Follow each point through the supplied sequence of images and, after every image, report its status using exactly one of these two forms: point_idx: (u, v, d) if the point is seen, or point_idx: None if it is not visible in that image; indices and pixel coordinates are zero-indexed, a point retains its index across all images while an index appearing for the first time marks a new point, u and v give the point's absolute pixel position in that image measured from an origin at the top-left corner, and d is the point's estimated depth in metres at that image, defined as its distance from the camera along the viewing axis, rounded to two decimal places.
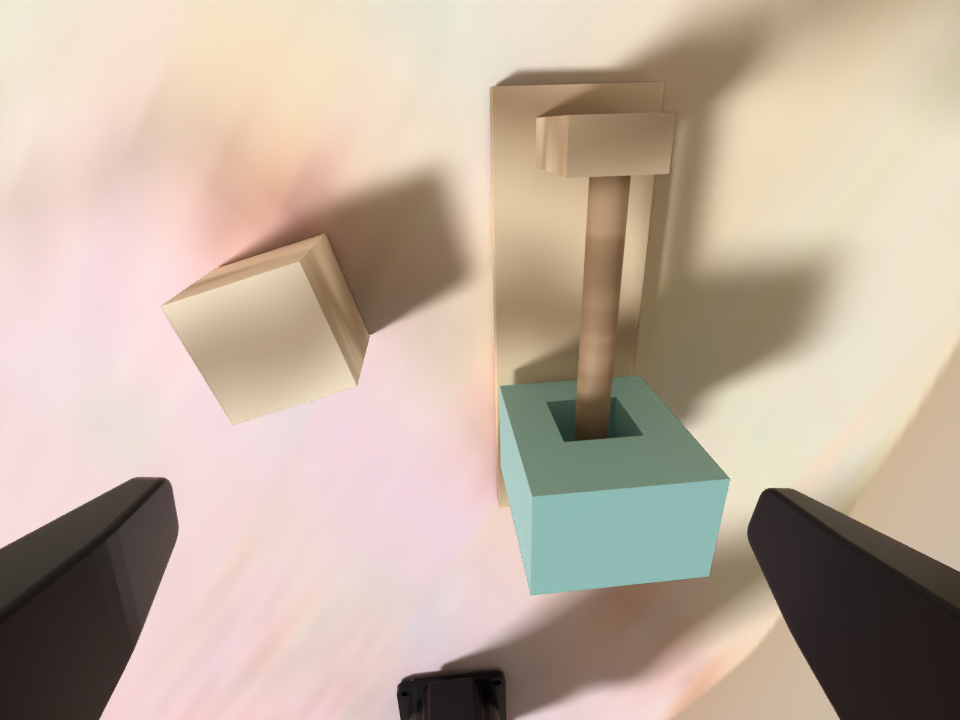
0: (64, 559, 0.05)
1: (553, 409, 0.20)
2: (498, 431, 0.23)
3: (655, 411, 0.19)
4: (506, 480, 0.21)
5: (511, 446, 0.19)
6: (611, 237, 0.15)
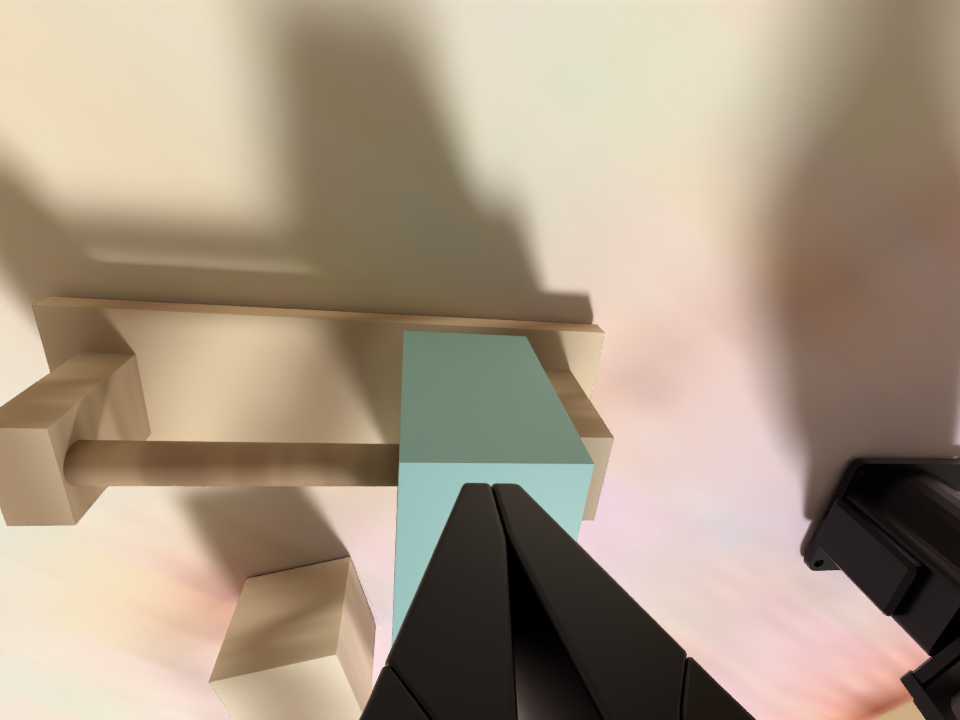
0: (498, 558, 0.06)
1: None
2: None
3: None
4: None
5: None
6: (140, 476, 0.13)
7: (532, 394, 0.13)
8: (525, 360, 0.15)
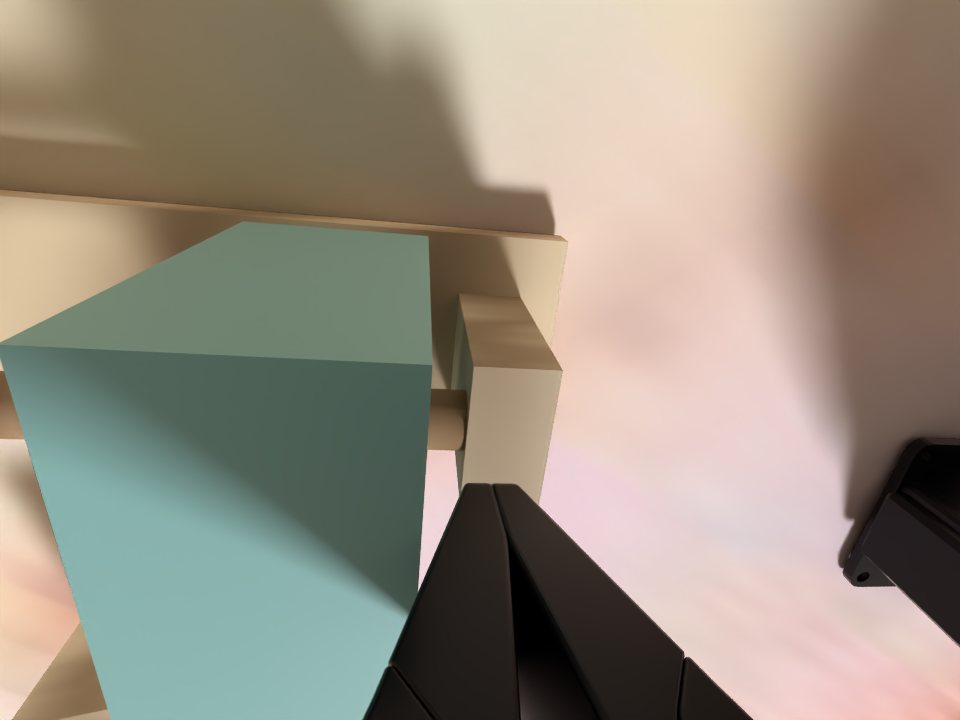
0: (500, 558, 0.06)
1: None
2: None
3: None
4: None
5: None
6: None
7: (387, 282, 0.08)
8: (407, 253, 0.10)
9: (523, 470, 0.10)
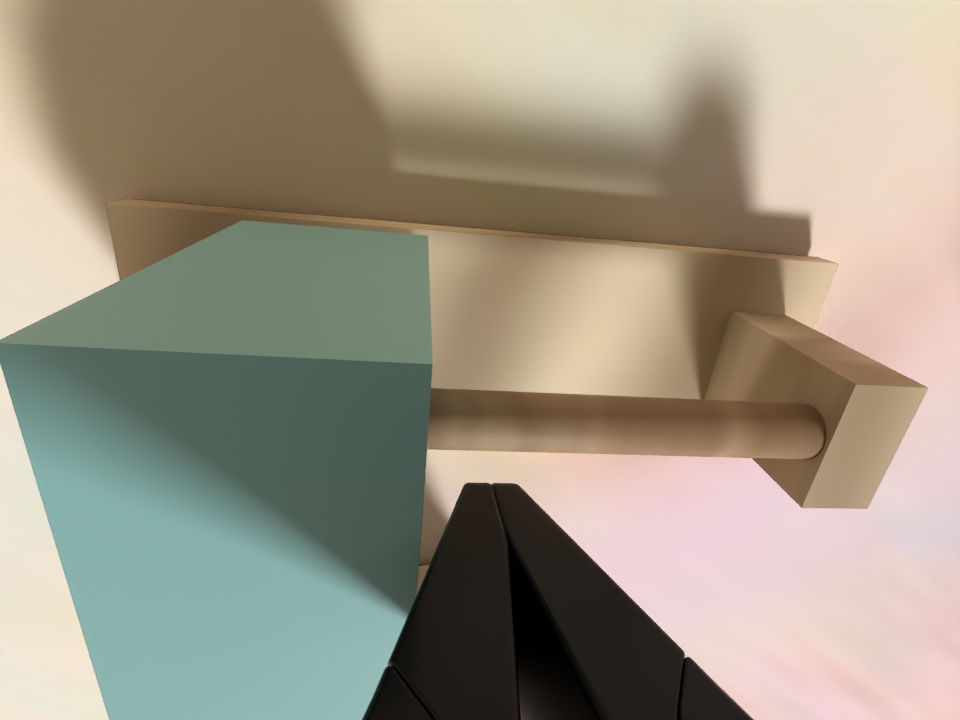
0: (500, 558, 0.06)
1: None
2: None
3: None
4: None
5: None
6: None
7: (386, 281, 0.08)
8: (406, 251, 0.10)
9: (865, 477, 0.11)
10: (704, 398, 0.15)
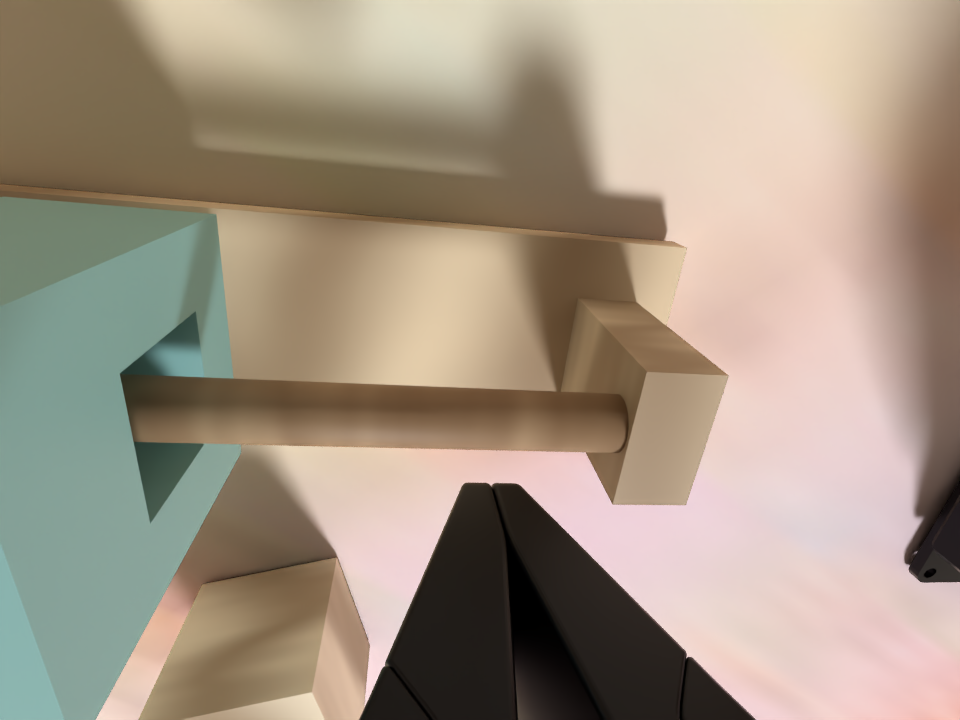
0: (498, 558, 0.06)
1: None
2: None
3: None
4: None
5: None
6: None
7: (59, 255, 0.07)
8: (152, 228, 0.09)
9: (677, 472, 0.10)
10: (560, 390, 0.14)
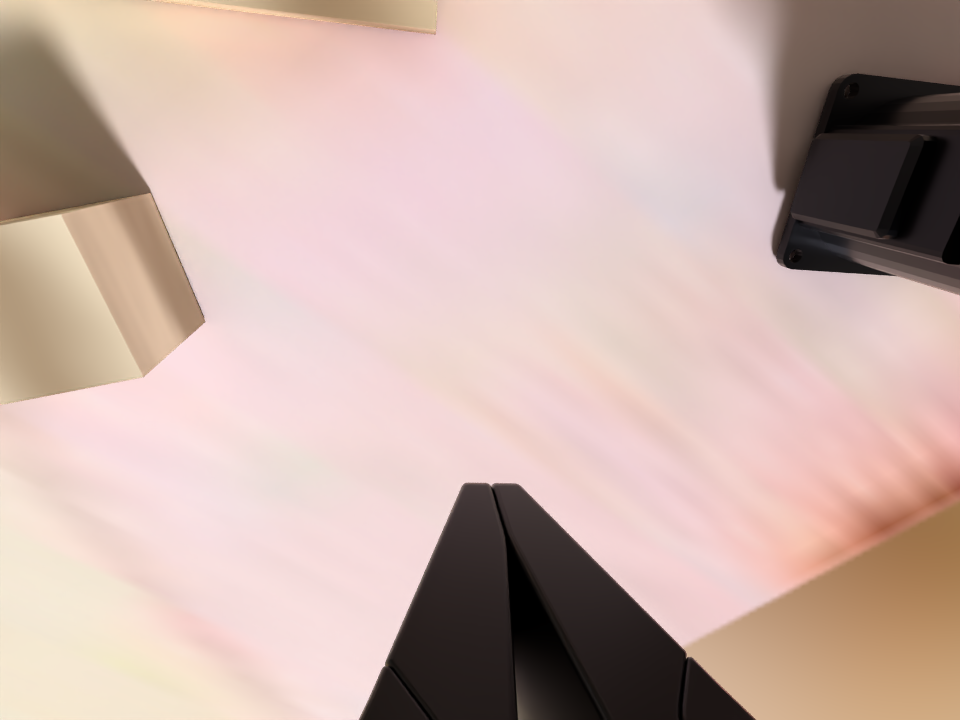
0: (498, 558, 0.06)
1: None
2: (281, 10, 0.14)
3: None
4: None
5: None
6: None
7: None
8: None
9: None
10: None
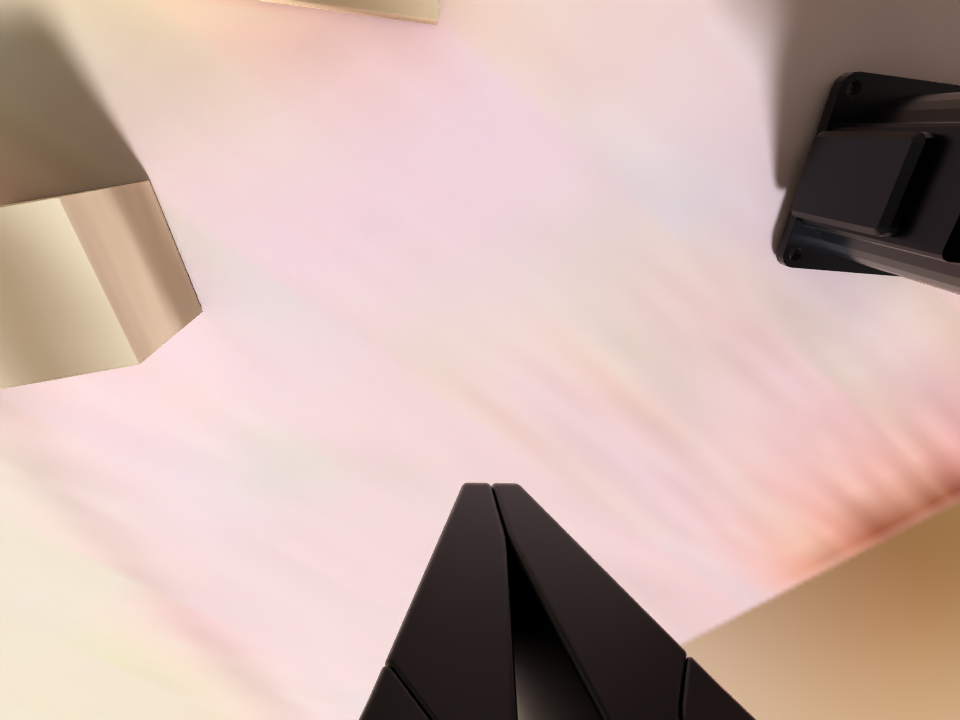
0: (498, 558, 0.06)
1: None
2: None
3: None
4: None
5: None
6: None
7: None
8: None
9: None
10: None
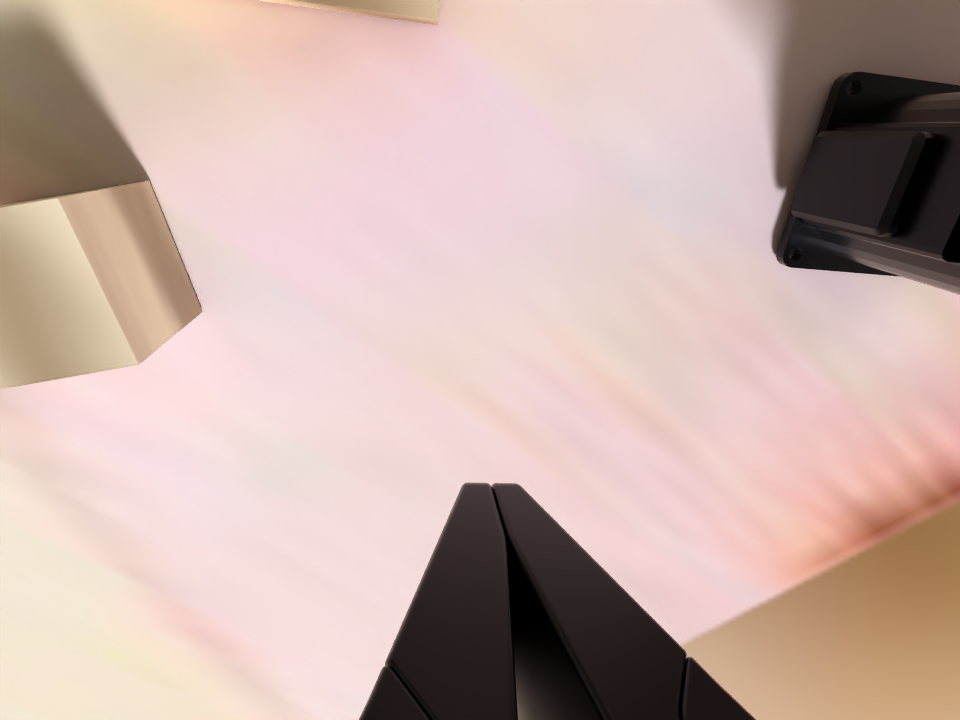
0: (498, 558, 0.06)
1: None
2: None
3: None
4: None
5: None
6: None
7: None
8: None
9: None
10: None
